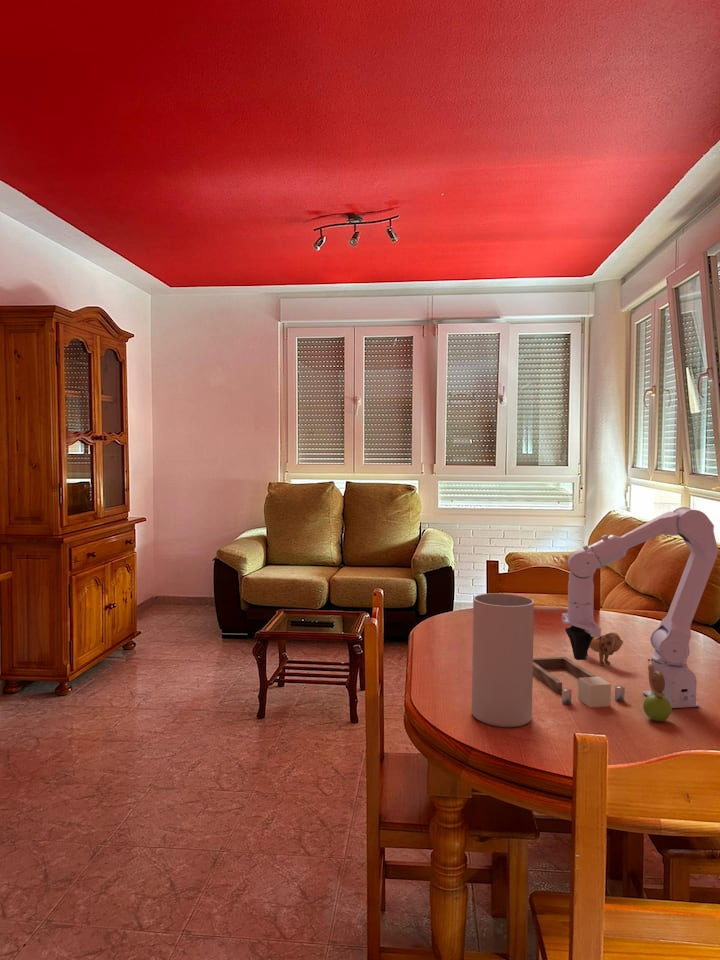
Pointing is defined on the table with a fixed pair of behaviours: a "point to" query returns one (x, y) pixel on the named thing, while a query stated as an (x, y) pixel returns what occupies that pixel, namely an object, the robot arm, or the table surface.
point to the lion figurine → (606, 646)
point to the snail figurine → (656, 697)
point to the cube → (594, 691)
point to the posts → (567, 692)
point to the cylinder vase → (502, 659)
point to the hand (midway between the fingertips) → (579, 659)
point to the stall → (556, 662)
